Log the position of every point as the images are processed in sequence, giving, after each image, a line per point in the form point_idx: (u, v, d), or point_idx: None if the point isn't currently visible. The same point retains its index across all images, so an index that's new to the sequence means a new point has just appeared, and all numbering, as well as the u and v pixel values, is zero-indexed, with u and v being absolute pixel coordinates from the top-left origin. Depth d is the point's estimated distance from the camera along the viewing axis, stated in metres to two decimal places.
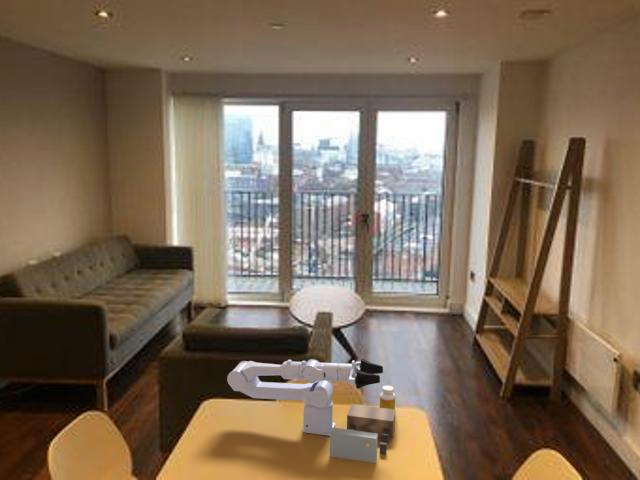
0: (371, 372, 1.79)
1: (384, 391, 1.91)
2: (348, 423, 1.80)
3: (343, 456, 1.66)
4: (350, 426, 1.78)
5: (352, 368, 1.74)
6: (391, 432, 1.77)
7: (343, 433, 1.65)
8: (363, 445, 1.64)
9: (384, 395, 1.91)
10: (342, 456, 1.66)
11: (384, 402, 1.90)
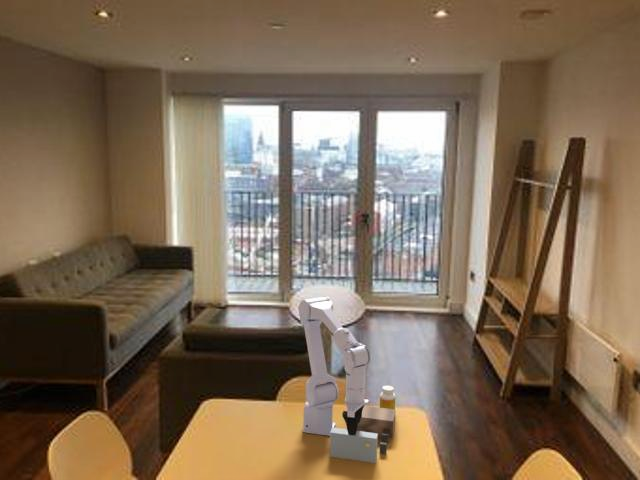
0: None
1: (384, 391, 1.91)
2: None
3: (343, 456, 1.66)
4: None
5: (361, 405, 1.61)
6: (391, 432, 1.77)
7: (343, 433, 1.65)
8: (363, 445, 1.64)
9: (384, 395, 1.91)
10: (342, 456, 1.66)
11: (384, 402, 1.90)
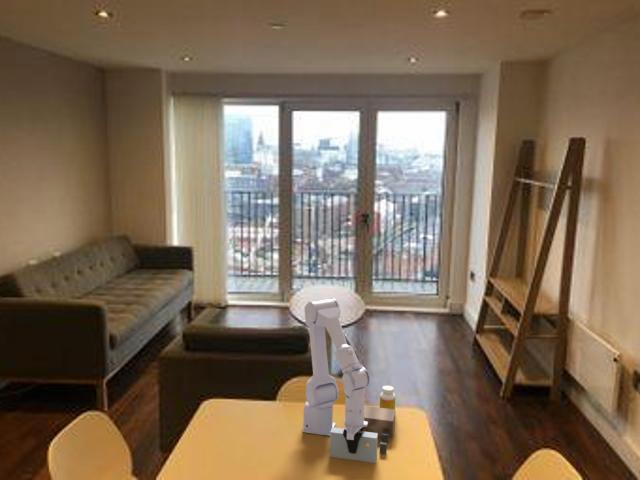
0: None
1: (384, 391, 1.91)
2: None
3: (343, 456, 1.66)
4: None
5: (361, 427, 1.62)
6: (391, 432, 1.77)
7: None
8: (363, 445, 1.64)
9: (384, 395, 1.91)
10: (342, 456, 1.66)
11: (384, 402, 1.90)
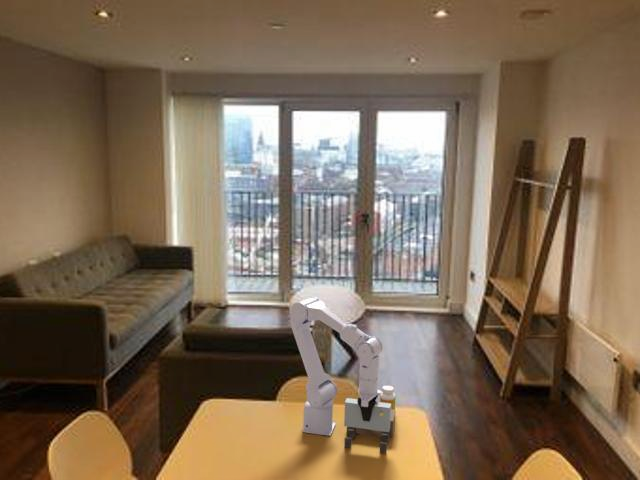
0: None
1: (384, 391, 1.91)
2: None
3: (357, 425, 1.71)
4: None
5: (375, 395, 1.67)
6: (391, 432, 1.77)
7: (357, 403, 1.70)
8: (377, 414, 1.69)
9: (384, 395, 1.91)
10: (356, 425, 1.71)
11: (384, 402, 1.90)
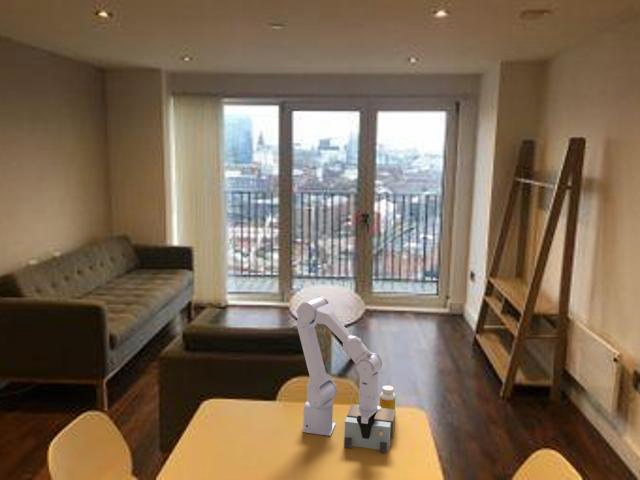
0: None
1: (384, 391, 1.91)
2: None
3: (357, 444, 1.72)
4: None
5: (374, 412, 1.68)
6: (391, 432, 1.77)
7: (357, 422, 1.72)
8: (377, 433, 1.70)
9: (384, 395, 1.91)
10: (356, 444, 1.72)
11: (384, 402, 1.90)
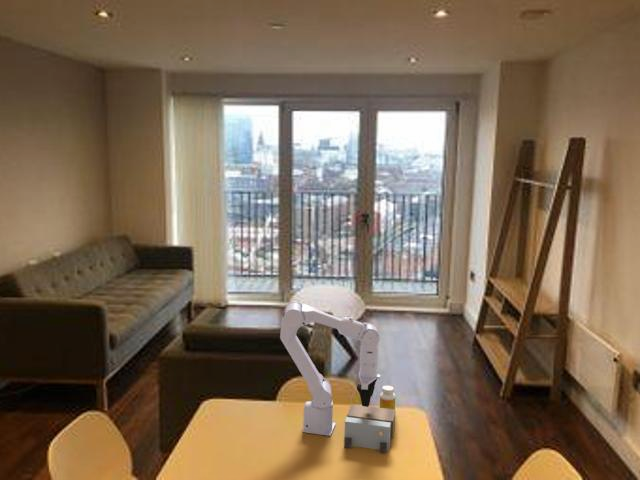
0: None
1: (384, 391, 1.91)
2: None
3: (357, 444, 1.72)
4: None
5: (374, 379, 1.77)
6: (391, 432, 1.77)
7: (357, 422, 1.72)
8: (377, 433, 1.70)
9: (384, 395, 1.91)
10: (356, 444, 1.72)
11: (384, 402, 1.90)
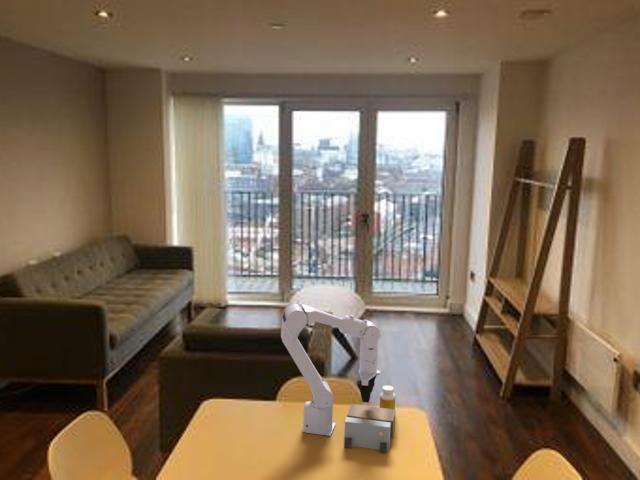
0: None
1: (384, 391, 1.91)
2: None
3: (357, 444, 1.72)
4: None
5: (374, 375, 1.79)
6: (391, 432, 1.77)
7: (357, 422, 1.72)
8: (377, 433, 1.70)
9: (384, 395, 1.91)
10: (356, 444, 1.72)
11: (384, 402, 1.90)
